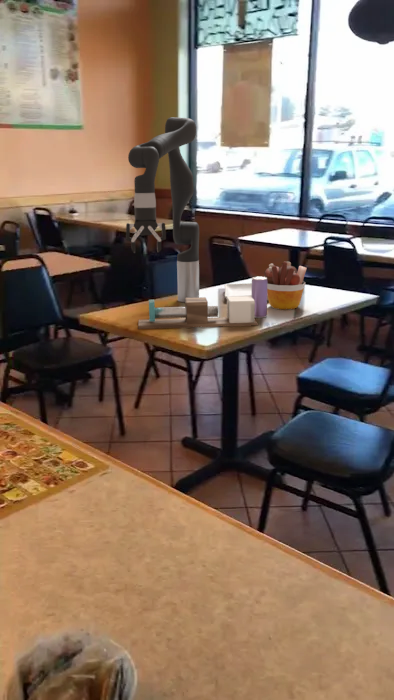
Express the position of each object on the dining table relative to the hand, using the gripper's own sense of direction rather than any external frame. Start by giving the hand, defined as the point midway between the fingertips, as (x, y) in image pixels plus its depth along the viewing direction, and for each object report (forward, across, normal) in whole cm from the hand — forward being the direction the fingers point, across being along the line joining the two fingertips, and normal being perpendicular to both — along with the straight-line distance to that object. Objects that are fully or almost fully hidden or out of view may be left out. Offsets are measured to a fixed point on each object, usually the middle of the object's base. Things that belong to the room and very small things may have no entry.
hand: (146, 252), depth 228 cm
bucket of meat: (+26, -56, -19) cm, 65 cm away
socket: (+26, -34, +4) cm, 43 cm away
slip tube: (+24, -13, +3) cm, 28 cm away
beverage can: (+26, -43, -4) cm, 50 cm away
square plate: (+26, -49, -42) cm, 70 cm away
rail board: (+26, -18, +3) cm, 32 cm away
